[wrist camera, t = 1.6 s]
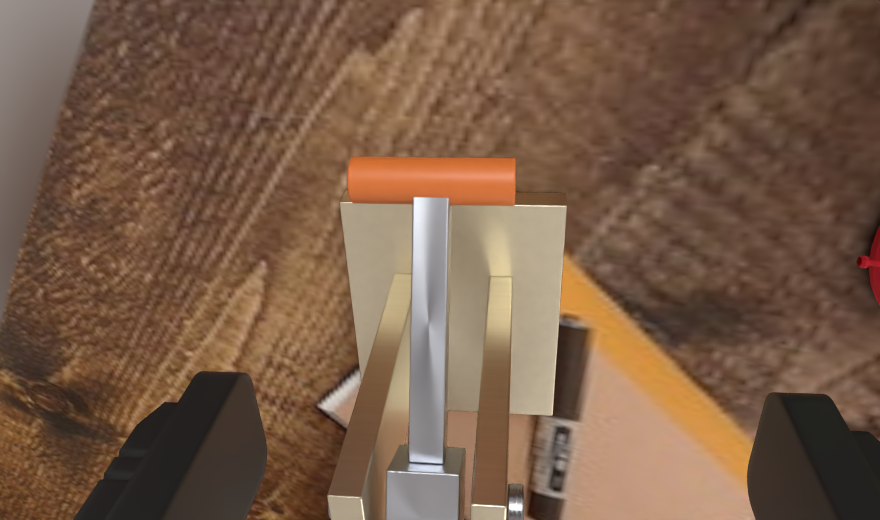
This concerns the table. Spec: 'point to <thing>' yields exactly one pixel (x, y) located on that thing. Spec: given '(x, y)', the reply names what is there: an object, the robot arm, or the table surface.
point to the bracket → (452, 340)
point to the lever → (429, 314)
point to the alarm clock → (873, 265)
